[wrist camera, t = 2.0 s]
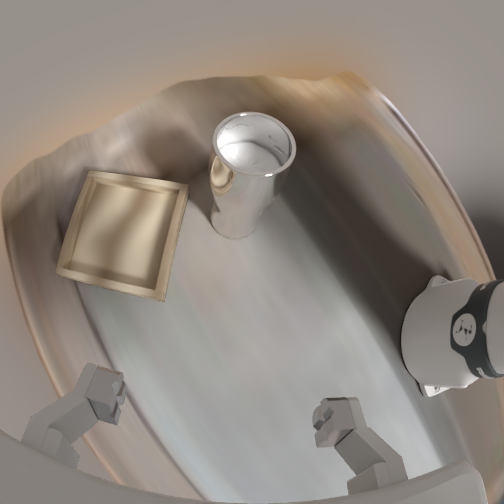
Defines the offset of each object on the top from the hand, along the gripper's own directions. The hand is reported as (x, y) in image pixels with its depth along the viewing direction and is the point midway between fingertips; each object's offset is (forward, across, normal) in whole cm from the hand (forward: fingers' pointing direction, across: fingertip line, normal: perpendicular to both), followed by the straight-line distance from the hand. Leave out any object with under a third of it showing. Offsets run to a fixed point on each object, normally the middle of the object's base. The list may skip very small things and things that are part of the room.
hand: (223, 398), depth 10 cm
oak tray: (+23, +13, +6) cm, 27 cm away
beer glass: (+27, 0, +3) cm, 27 cm away
